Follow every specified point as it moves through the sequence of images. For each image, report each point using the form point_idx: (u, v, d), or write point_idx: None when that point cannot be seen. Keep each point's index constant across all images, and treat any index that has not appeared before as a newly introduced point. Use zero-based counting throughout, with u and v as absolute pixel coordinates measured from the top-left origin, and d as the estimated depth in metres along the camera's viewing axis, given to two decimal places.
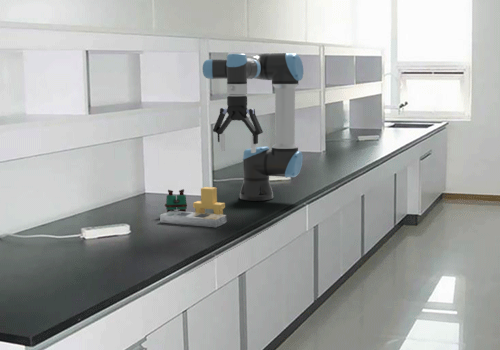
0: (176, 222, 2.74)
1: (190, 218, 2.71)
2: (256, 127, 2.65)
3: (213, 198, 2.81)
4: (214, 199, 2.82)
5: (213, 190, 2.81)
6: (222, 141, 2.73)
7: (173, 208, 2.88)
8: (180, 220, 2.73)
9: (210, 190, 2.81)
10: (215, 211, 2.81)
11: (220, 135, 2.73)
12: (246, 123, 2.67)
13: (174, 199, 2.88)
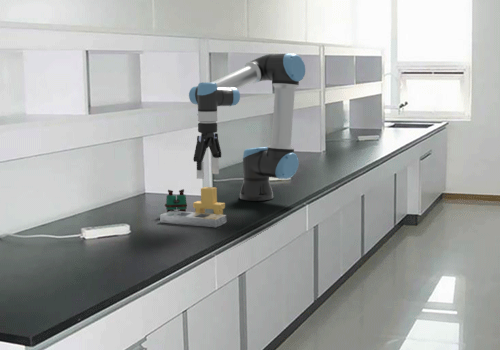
0: (176, 222, 2.74)
1: (190, 218, 2.71)
2: None
3: (213, 198, 2.81)
4: (214, 199, 2.82)
5: (213, 190, 2.81)
6: (213, 164, 2.87)
7: (173, 208, 2.88)
8: (180, 220, 2.73)
9: (210, 190, 2.80)
10: (215, 211, 2.81)
11: (212, 158, 2.88)
12: None
13: (174, 199, 2.88)
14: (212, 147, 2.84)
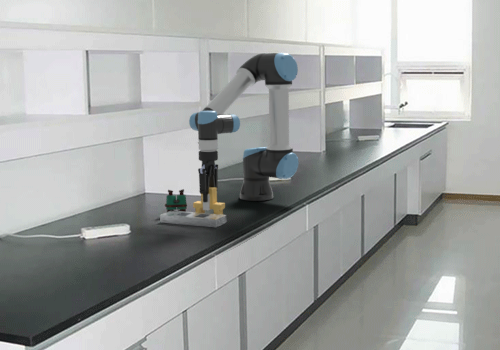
0: (176, 222, 2.74)
1: (190, 218, 2.71)
2: None
3: (213, 198, 2.81)
4: (214, 199, 2.82)
5: (213, 190, 2.81)
6: None
7: (173, 208, 2.88)
8: (180, 220, 2.73)
9: (210, 190, 2.81)
10: (215, 211, 2.81)
11: None
12: None
13: (174, 199, 2.88)
14: (210, 177, 2.84)
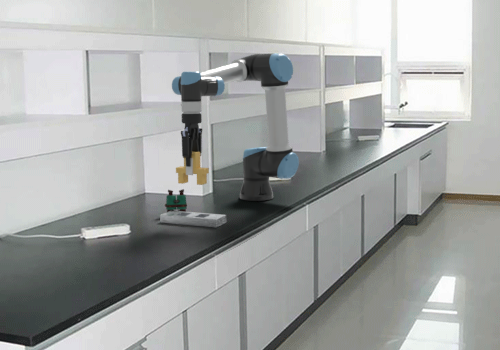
0: (176, 222, 2.74)
1: (190, 218, 2.71)
2: None
3: (196, 163, 2.71)
4: (197, 164, 2.72)
5: (196, 154, 2.71)
6: None
7: (173, 208, 2.88)
8: (180, 220, 2.73)
9: (193, 154, 2.70)
10: (198, 176, 2.70)
11: None
12: None
13: (174, 199, 2.88)
14: (194, 141, 2.73)
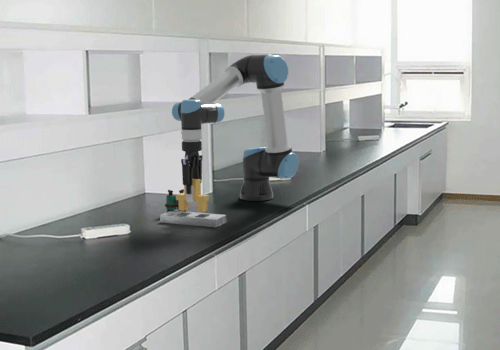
0: (176, 222, 2.74)
1: (190, 218, 2.71)
2: None
3: (197, 190, 2.72)
4: (198, 191, 2.73)
5: (197, 181, 2.72)
6: None
7: (173, 208, 2.88)
8: (180, 220, 2.73)
9: (193, 181, 2.71)
10: (199, 203, 2.72)
11: None
12: None
13: (174, 199, 2.88)
14: (194, 168, 2.74)
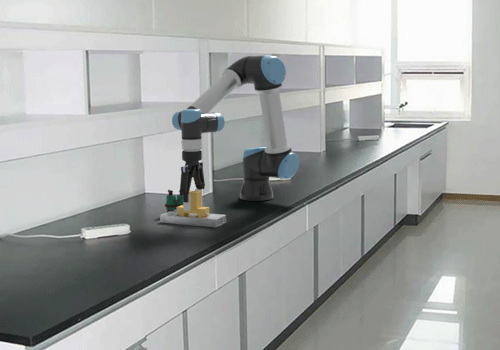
0: (176, 222, 2.74)
1: (190, 218, 2.71)
2: None
3: (197, 202, 2.73)
4: (198, 203, 2.74)
5: (197, 194, 2.73)
6: None
7: (173, 208, 2.88)
8: (180, 220, 2.73)
9: (194, 194, 2.72)
10: (199, 215, 2.73)
11: None
12: None
13: (174, 199, 2.88)
14: (196, 176, 2.76)
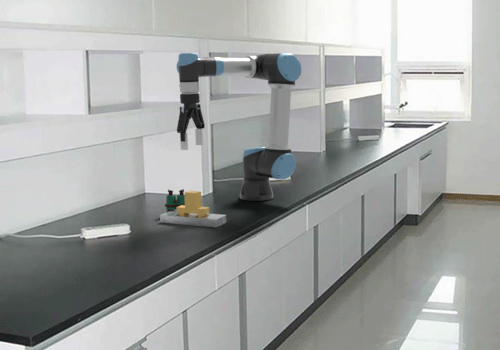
0: (176, 222, 2.74)
1: (190, 218, 2.71)
2: None
3: (197, 203, 2.73)
4: (198, 203, 2.74)
5: (197, 194, 2.73)
6: (197, 135, 2.87)
7: (173, 208, 2.88)
8: (180, 220, 2.73)
9: (194, 194, 2.72)
10: (199, 215, 2.73)
11: None
12: None
13: (174, 199, 2.88)
14: (195, 118, 2.83)
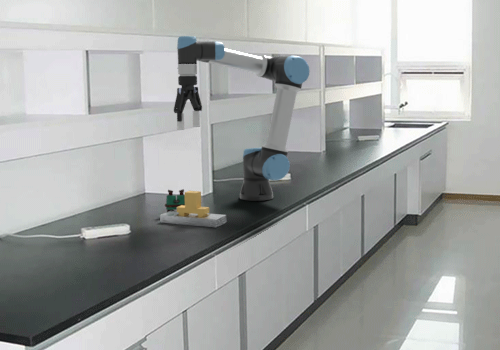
0: (176, 222, 2.74)
1: (190, 218, 2.71)
2: None
3: (197, 203, 2.73)
4: (198, 203, 2.74)
5: (197, 194, 2.73)
6: (194, 117, 2.96)
7: (173, 208, 2.88)
8: (180, 220, 2.73)
9: (194, 194, 2.72)
10: (199, 215, 2.73)
11: (193, 112, 2.96)
12: None
13: (174, 199, 2.88)
14: (192, 100, 2.92)
